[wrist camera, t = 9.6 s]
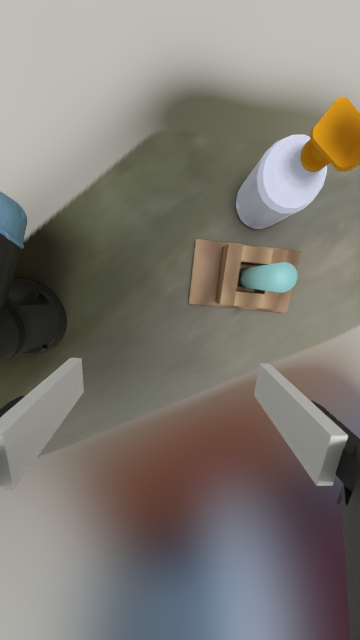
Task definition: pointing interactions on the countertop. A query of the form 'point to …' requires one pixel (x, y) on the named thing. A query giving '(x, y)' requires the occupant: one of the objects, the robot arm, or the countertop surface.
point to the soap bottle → (300, 167)
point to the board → (211, 271)
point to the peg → (268, 277)
